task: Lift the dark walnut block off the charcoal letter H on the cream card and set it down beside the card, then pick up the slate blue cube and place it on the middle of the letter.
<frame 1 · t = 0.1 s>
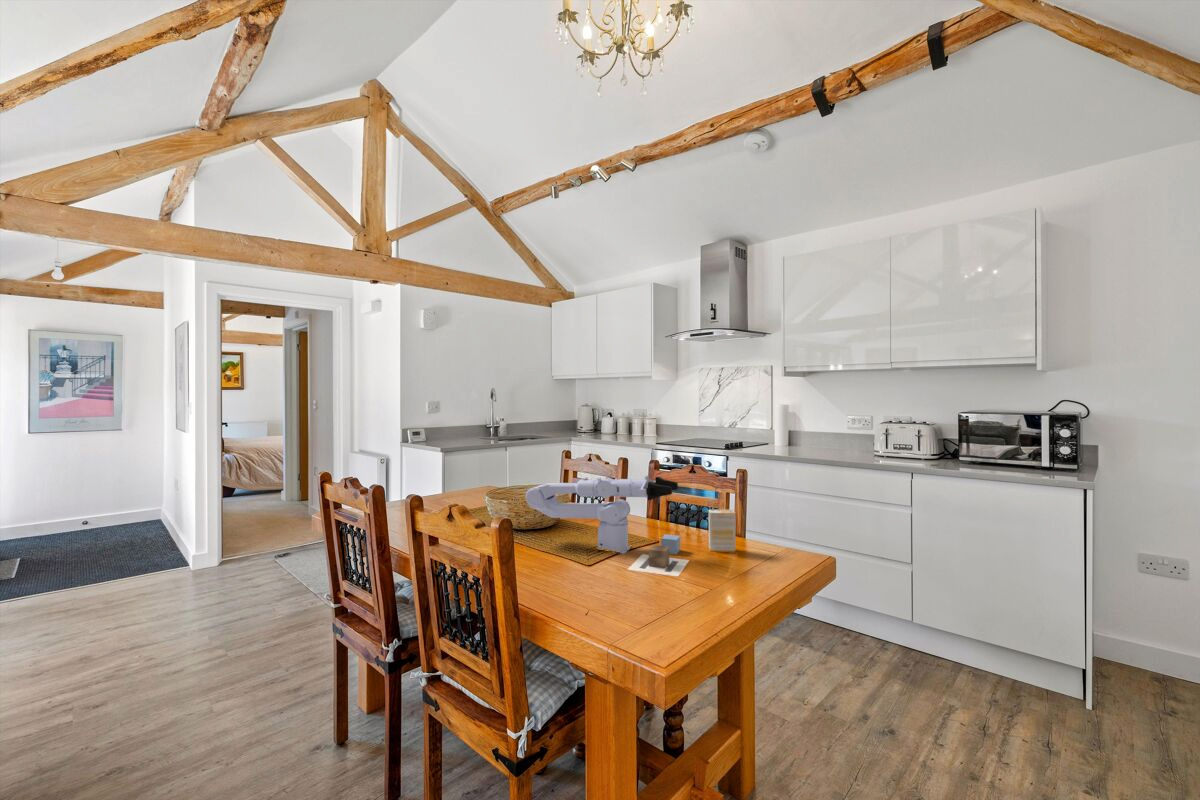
hand: (674, 488, 170), 22 cm above the table, tool horizontal, fingers open, 7 cm apart
supplement box: (721, 551, 178), on the table
letter board: (659, 565, 163), on the table
walnut block: (659, 564, 163), resting on letter board
slate blue cube: (670, 552, 176), on the table
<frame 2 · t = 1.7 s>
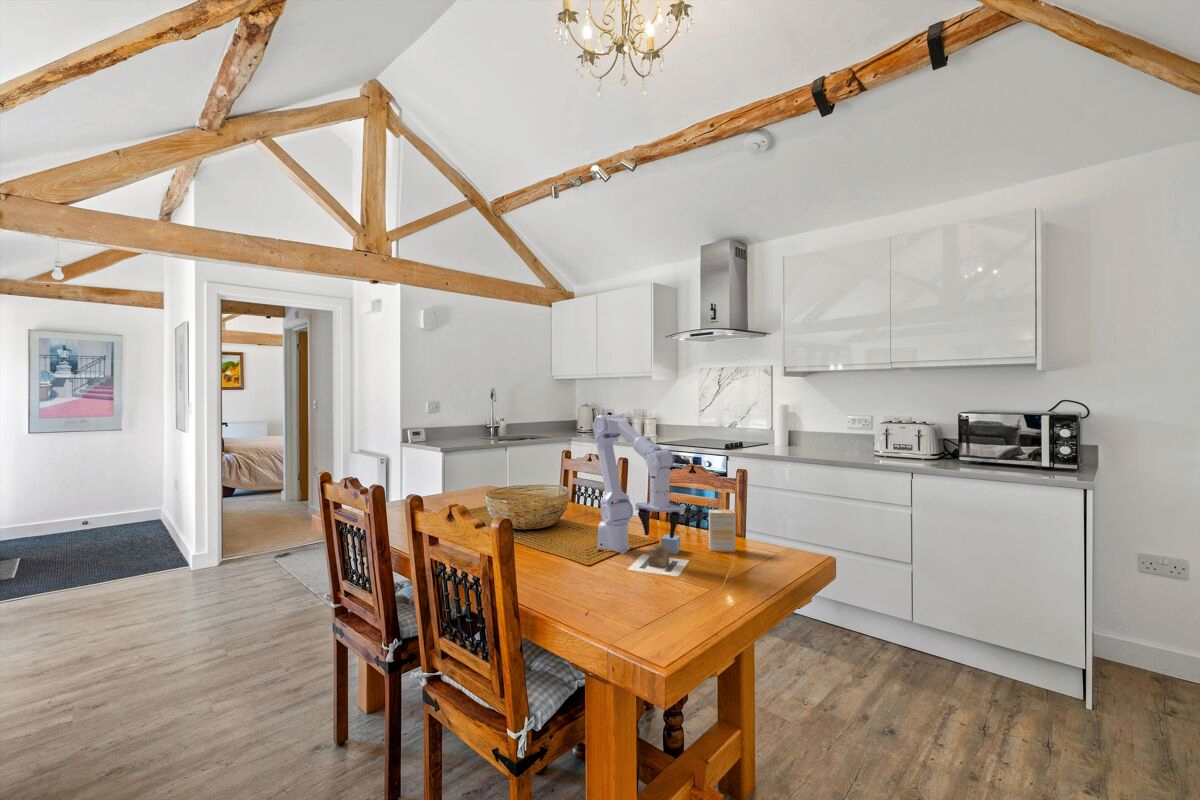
hand: (659, 535, 162), 9 cm above the table, tool pointing down, fingers open, 7 cm apart
nothing on the table moved.
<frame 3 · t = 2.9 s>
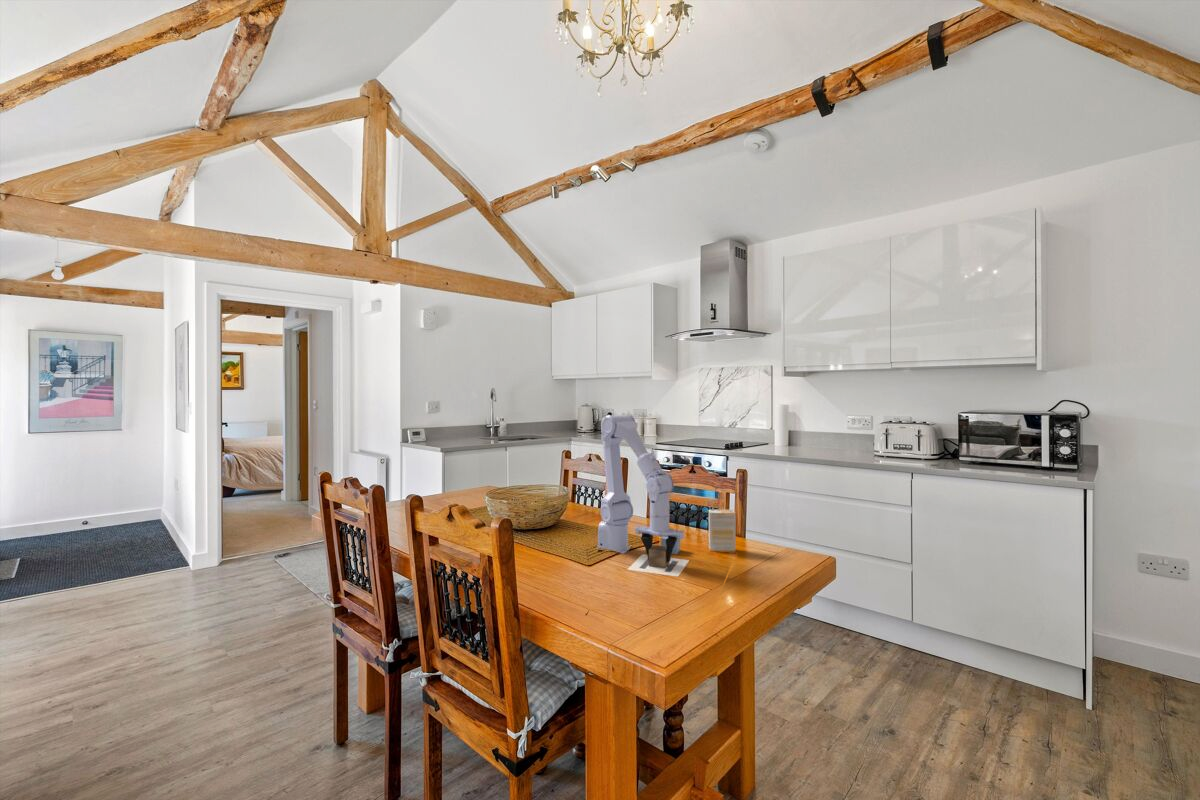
hand: (659, 560, 163), 2 cm above the table, tool pointing down, fingers closed on walnut block, 5 cm apart
walnut block: (659, 564, 163), resting on letter board, touching gripper
everything else where it was.
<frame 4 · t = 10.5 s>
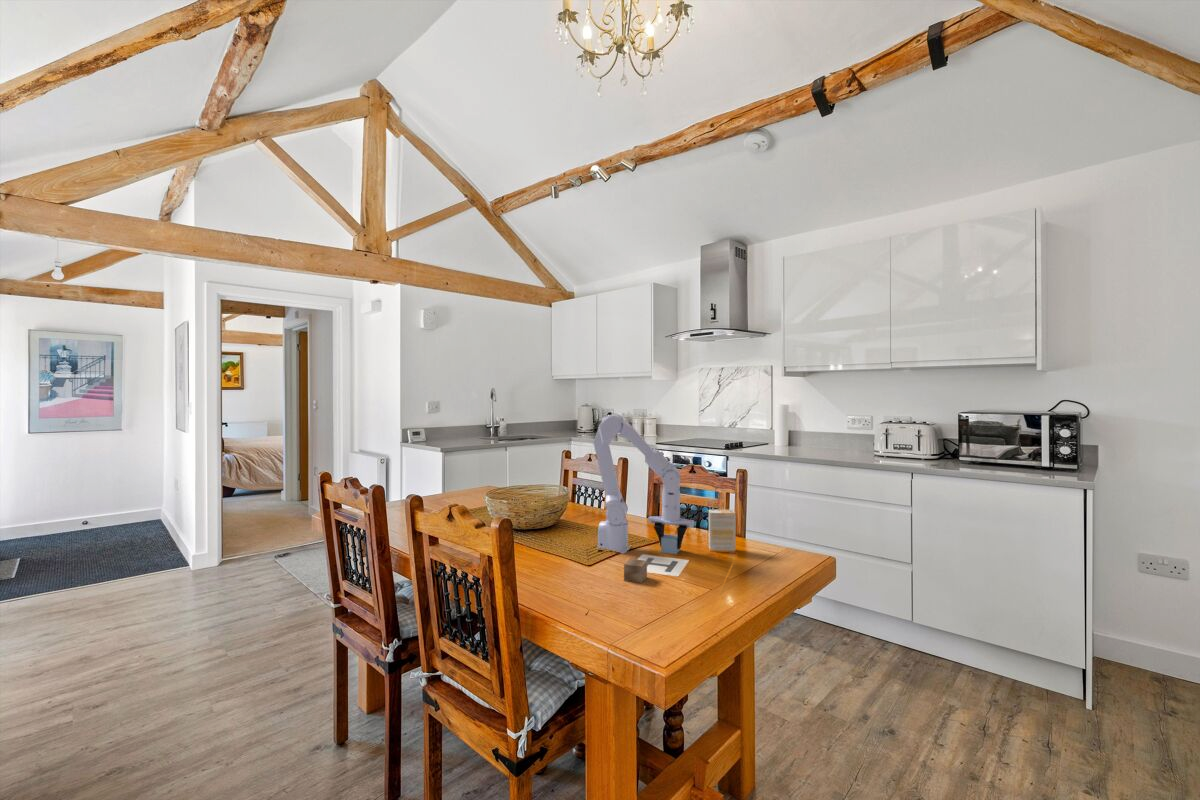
hand: (670, 547, 176), 2 cm above the table, tool pointing down, fingers closed on slate blue cube, 5 cm apart
walnut block: (635, 580, 151), on the table
slate blue cube: (670, 552, 176), on the table, touching gripper
everything else where it was.
when the fingers open (3 cm above the table, at t = 14.3 s): slate blue cube stays where it is, resting on letter board.
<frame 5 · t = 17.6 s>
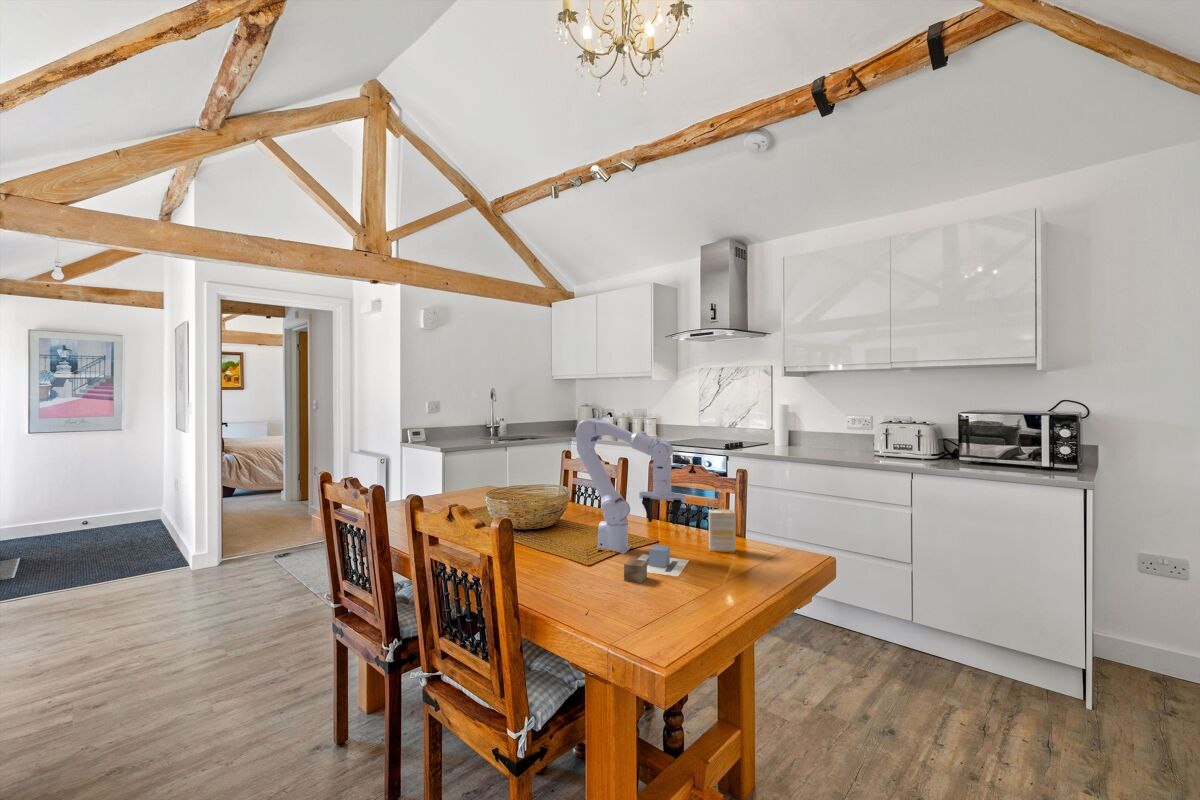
hand: (662, 522, 172), 10 cm above the table, tool pointing down, fingers open, 7 cm apart
slate blue cube: (659, 564, 163), resting on letter board
everything else where it was.
at the end: slate blue cube 0.4 cm off-centre on the letter board, point 0.3 cm above the letter board's base; slate blue cube tilted 0°; walnut block touching table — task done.
